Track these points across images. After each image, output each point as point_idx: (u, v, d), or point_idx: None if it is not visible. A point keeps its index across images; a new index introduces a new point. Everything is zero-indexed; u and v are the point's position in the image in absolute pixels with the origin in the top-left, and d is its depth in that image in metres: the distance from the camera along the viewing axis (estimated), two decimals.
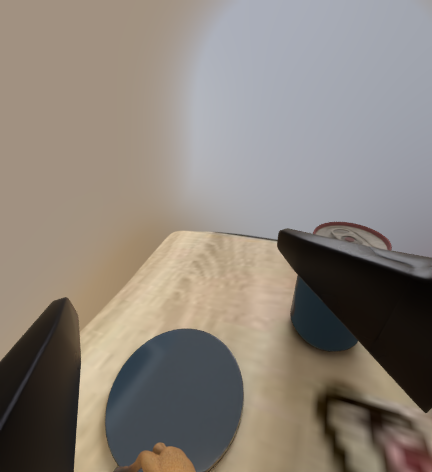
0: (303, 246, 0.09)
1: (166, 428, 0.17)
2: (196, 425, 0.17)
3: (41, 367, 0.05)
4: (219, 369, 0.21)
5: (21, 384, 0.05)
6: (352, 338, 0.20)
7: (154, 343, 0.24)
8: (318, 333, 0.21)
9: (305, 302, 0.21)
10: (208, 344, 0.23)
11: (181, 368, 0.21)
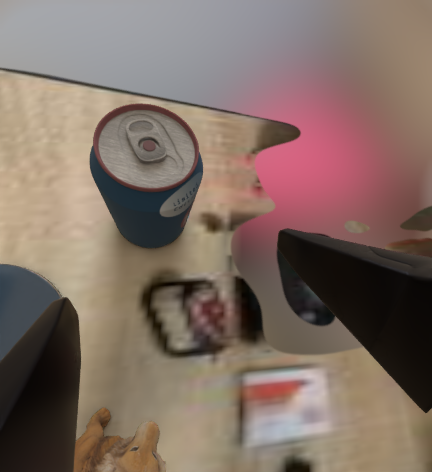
0: (303, 246, 0.09)
1: None
2: None
3: (41, 367, 0.05)
4: (31, 302, 0.18)
5: (21, 384, 0.05)
6: (173, 237, 0.21)
7: None
8: (138, 241, 0.19)
9: (115, 219, 0.17)
10: (9, 279, 0.18)
11: None
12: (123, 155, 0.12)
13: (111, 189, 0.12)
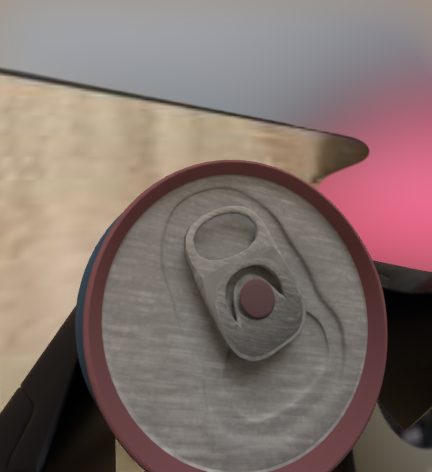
0: None
1: None
2: None
3: None
4: None
5: (75, 363, 0.05)
6: None
7: None
8: None
9: None
10: None
11: None
12: (183, 348, 0.04)
13: None
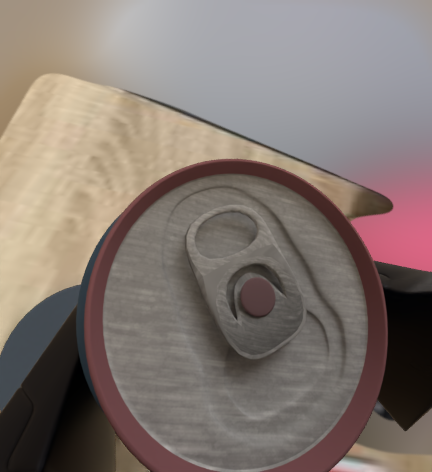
0: None
1: None
2: None
3: None
4: None
5: (75, 362, 0.05)
6: None
7: (47, 307, 0.18)
8: None
9: None
10: None
11: None
12: (184, 346, 0.04)
13: None
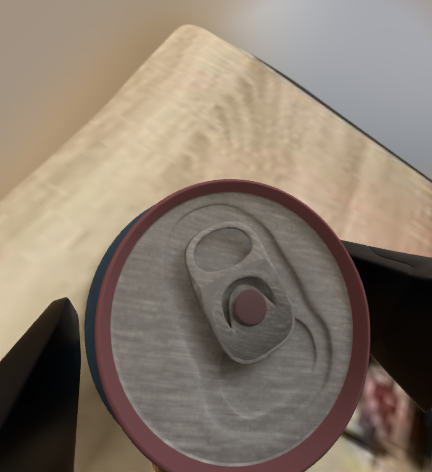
0: None
1: None
2: None
3: (41, 367, 0.05)
4: None
5: (21, 384, 0.05)
6: None
7: None
8: None
9: None
10: None
11: None
12: (184, 351, 0.04)
13: None
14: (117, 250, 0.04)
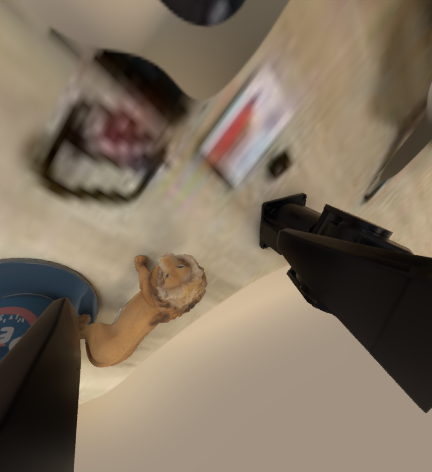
0: (303, 246, 0.09)
1: None
2: None
3: (41, 367, 0.05)
4: (0, 283, 0.18)
5: (21, 384, 0.05)
6: None
7: None
8: None
9: None
10: None
11: None
12: None
13: None
14: None
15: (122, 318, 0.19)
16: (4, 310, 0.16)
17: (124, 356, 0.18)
